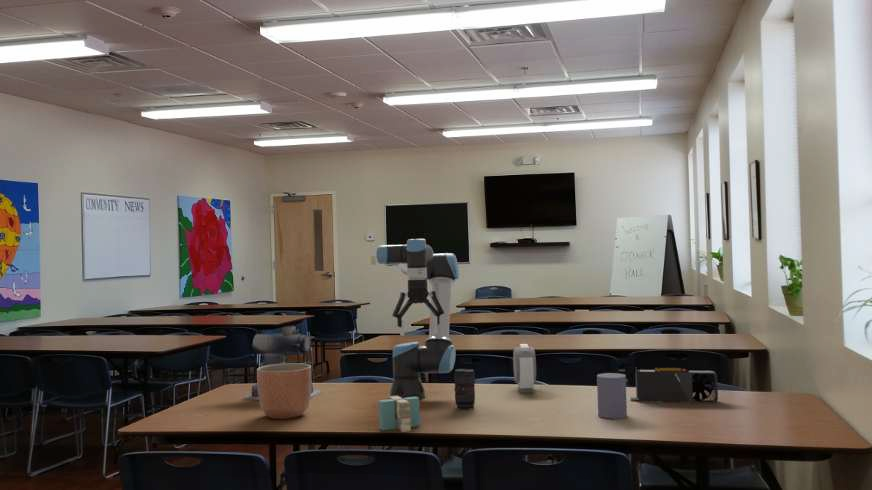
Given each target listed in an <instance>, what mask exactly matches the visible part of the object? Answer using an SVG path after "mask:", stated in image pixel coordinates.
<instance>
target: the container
mask: <svg viewBox="0 0 872 490" xmlns="http://www.w3.org/2000/svg"><path fill="white" fill-rule="evenodd" d="M626 378H627V376H626V374H624V373H617V372H616V373H615V372H604V373H598V374H597V375H596V386H597V387H596V388H597V416H598V417H600V418H602V417H603V419H606V418H609V419H608V420H610V419H611V420H619V418H621V419H624V418H626V417H628V405H627V379H626Z"/></svg>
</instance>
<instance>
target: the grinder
mask: <svg viewBox="0 0 872 490" xmlns="http://www.w3.org/2000/svg"><path fill="white" fill-rule="evenodd" d="M280 330H281V333H257V334H255V335H254V337H253V340H252V344H251V346H252V350H253V352H254V353H255V354H257V355H259V354H260V355H264V357H263V363H262V366H261V367H263V366H267V365H274V364H286V360H285V359H286V358H285V355H293V356H294V357H298V356H299V355H302V354H304V353H307V352H309V350H310V347H311V339H310V337H309V336H308V335H305V334H303V333H299V332H300V330H299V328H296V326H285V327H282V328H281V329H280ZM313 384H314V383H313V381H312V380H311V396H310V400H311V399H313V398H315V397H316V396H319V395H320V394H322V393H323V389H314V387H313V386H314V385H313ZM241 400H242V401H244V400H245V401H259V395H258V384H257V383H256V384H254V385H252V386H251V393H249V394H247V395H244V397H242V398H241Z"/></svg>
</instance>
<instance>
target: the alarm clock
mask: <svg viewBox="0 0 872 490" xmlns="http://www.w3.org/2000/svg"><path fill="white" fill-rule="evenodd" d="M512 355H513V357H512V364H513V367H512V368H513V377H514V382H515V383H516V384H517V387H518V388H519V389H518V391H519V390H520V391H519V392H520V393H522V394H523V393H525V394H526V393H533V389H534V386H535V382H536V381H537V360H536V351H535V348H534V346H529V345H528V343H520V344H519V346H515V347H513V353H512Z"/></svg>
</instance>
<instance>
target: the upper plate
mask: <svg viewBox="0 0 872 490" xmlns="http://www.w3.org/2000/svg"><path fill="white" fill-rule="evenodd" d="M388 399H393V400H394V401H395V417H397V421H398V429H397V430H398V431H400V432H401V433H404V432H405V433H406V432H411V431H412V429H411V428H412V427H411V422H410V402H408V401H406V400H405V399H403V398H401V397H399V396H390V395H389V396H388Z"/></svg>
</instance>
